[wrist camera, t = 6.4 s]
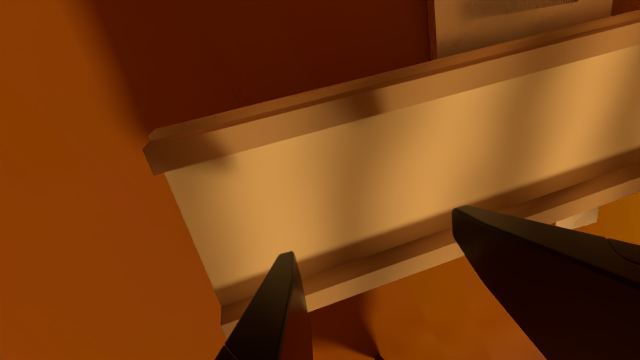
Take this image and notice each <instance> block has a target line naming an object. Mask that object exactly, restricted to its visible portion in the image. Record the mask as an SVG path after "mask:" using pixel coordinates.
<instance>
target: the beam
mask: <svg viewBox="0 0 640 360" xmlns="http://www.w3.org/2000/svg"><path fill="white" fill-rule="evenodd" d="M148 136H149V139H150V142H149V143H148V144H147V145H146V146H145V147H144V148H143V149H142V150H143V152H144V154H145V156H146V159H147V161H148V163H149V165H150V168H151V170H152V172H153V174H154V175H157V174H161V173H164V174H165V176H166V178H167V181H168V183H169V185H170V188H171V190H172V192H173V195H174V197H175V199H176V202H177V204H178V206H179V209H180V211H181V213H182V216H183V218H184V220H185V223H186V225H187V227H188V230H189V232H190V234H191V237H192V239H193V241H194V244H195V246H196V248H197V251H198V253H199V255H200V258H201V260H202V262H203V265H204V267H205V269H206V272H207V274H208V276H209V279H210V281H211V283H212V286H213V288H214V290H215V293H216V295H217V297H218V300H219V302H220V304H221V328H222V330H223V332H224V335H225V337H226V339H228V337H229V336H230V334H231V332H232V331H233V329H234V327H235V326H236V324H237V323H238V321H239V319H240V318H241V316H242V314H243V313H244V311H245V309H246V308H247V306H248V304H249V303H250V301H251V300H252V298H253V296H254V295H255V293H256V291H257V290H258V288H259V286H260V285H261V283H262V281H263V280H264V278H265V277H266V275H267V273H268V272H269V270H270V268H271V267H272V265H273V263H274V262H275V260H276V258H277V257H278V255H279V254H281V253H285V252H289V251H293V252H294V254H295V257H296V261H297V264H298V268H299V271H300V275H301V279H302V284H303V289H304V294H305V300H306V305H307V310H308V312H310V311H313V310H316V309H319V308H321V307H324V306H327V305H330V304H332V303H335V302H338V301H341V300H343V299H346V298H349V297H352V296H354V295H357V294H360V293H363V292H365V291H368V290H371V289H374V288H376V287H379V286H382V285H385V284H387V283H390V282H393V281H396V280H398V279H401V278H404V277H407V276H409V275H412V274H415V273H418V272H420V271H423V270H426V269H429V268H431V267H434V266H437V265H440V264H442V263H445V262H448V261H451V260H453V259H456V258H459V257H462V256H464V253H463V252H462V250H461V249H460V247H459V246H458V244H457V243H456V241H455V239H454V237H453V233H452V210H453V209H454V208H456V207H460V206H464V205H469V206H473V207H477V208H482V209H486V210H490V211H494V212H499V213H503V214H507V215H512V216H516V217H520V218H524V219H529V220H533V221H537V222H541V223H546V224H552V223H555V222H558V221H560V220H563V219H566V218H569V217H571V216H574V215H577V214H580V213H582V212H585V211H588V210H591V209H593V208H596V207H599V206H602V205H604V204H607V203H610V202H613V201H615V200H618V199H621V198H624V197H626V196H629V195H632V194H635V193H637V192H640V9H639V10H635V11H631V12H627V13H623V14H619V15H615V16H611V17H607V18H603V19H599V20H594V21H590V22H586V23H582V24H578V25H574V26H570V27H566V28H562V29H558V30H554V31H550V32H546V33H542V34H538V35H534V36H530V37H526V38H522V39H517V40H513V41H509V42H505V43H501V44H497V45H493V46H489V47H485V48H481V49H477V50H473V51H469V52H465V53H461V54H457V55H453V56H449V57H445V58H441V59H436V60H432V61H428V62H424V63H420V64H416V65H412V66H408V67H404V68H400V69H396V70H392V71H388V72H384V73H380V74H376V75H372V76H368V77H364V78H359V79H355V80H351V81H347V82H343V83H339V84H335V85H331V86H327V87H323V88H319V89H315V90H311V91H307V92H303V93H299V94H295V95H291V96H287V97H282V98H278V99H274V100H270V101H266V102H262V103H258V104H254V105H250V106H246V107H242V108H238V109H234V110H230V111H226V112H222V113H218V114H214V115H210V116H205V117H201V118H197V119H193V120H189V121H185V122H181V123H177V124H173V125H169V126H165V127H161V128H157V129H154V130H153V131H152V132H151V133H150V134H149V135H148Z"/></svg>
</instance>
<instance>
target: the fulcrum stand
mask: <svg viewBox="0 0 640 360" xmlns="http://www.w3.org/2000/svg"><path fill="white" fill-rule="evenodd" d="M612 3H613V0H427V12H428V28H429V43H430V59H431V61H432V60H436V59H441V58H445V57H449V56H453V55H457V54H461V53H465V52H469V51H473V50H477V49H481V48H485V47H489V46H493V45H497V44H501V43H505V42H509V41H513V40H517V39H522V38H526V37H530V36H534V35H538V34H542V33H546V32H550V31H554V30H558V29H562V28H566V27H570V26H574V25H578V24H582V23H586V22H590V21H594V20H599V19H603V18H607V17H611V11H612ZM598 209H599V207H596V208H593V209H591V210H588V211H585V212H582V213H580V214H577V215H574V216H571V217H569V218H566V219H563V220H560V221H558V222H555V223H552V224H550V225H554V226H558V227H563V228H567V229H574V228H578V227H581V226H585V225H588V224H592V223H596V222H597V215H598Z"/></svg>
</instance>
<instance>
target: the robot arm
mask: <svg viewBox="0 0 640 360" xmlns="http://www.w3.org/2000/svg"><path fill="white" fill-rule="evenodd" d="M452 233H453V237H454V239H455V241H456V243H457V244H458V246H459V247H460V249H461V250H462V252H463V253H464V255H465V256H466V258H467V259H468V261H469V262H470V264H471V265H472V267H473V268H474V270H475V271H476V273H477V274H478V276H479V277H480V279H481V280H482V281H483V283H484V284H485V285H486V287H487V288H488V289H489V290H490V292H491V293H492V294H493V295H494V296H495V298H496V299H497V300H498V301H499V302H500V304H501V305H502V306H503V307H504V308H505V310H506V311H507V312H508V313H509V314H510V316H511V317H512V318H513V319H514V320H515V322H516V323H517V324H518V325H519V326H520V328H521V329H522V330H523V331H524V333H525V334H526V335H527V336H528V337H529V339H530V340H531V341H532V342H533V343H534V345H535V346H536V347H537V348H538V349H539V351H540V352H541V353H542V354H543V355H544V357H545V358H546V359H547V360H640V245H636V244H631V243H627V242H623V241H619V240H614V239H610V238H609V239H606V238H605V237H601V236H597V235H593V234H588V233H584V232H580V231H576V230H571V229H567V228H563V227H558V226H554V225H550V224H546V223H541V222H537V221H533V220H529V219H524V218H520V217H516V216H512V215H507V214H503V213H499V212H494V211H490V210H486V209H482V208H477V207H473V206H469V205H464V206H460V207H456V208H454V209H453V210H452ZM215 360H313V350H312V336H311V327H310V321H309V315H308V310H307V305H306V300H305V294H304V289H303V284H302V279H301V275H300V271H299V268H298V264H297V261H296V257H295V254H294V252H293V251H289V252H285V253H281V254H279V255H278V257H277V258H276V260H275V262H274V263H273V265H272V267H271V268H270V270H269V272H268V273H267V275H266V277H265V278H264V280H263V281H262V283H261V285H260V286H259V288H258V290H257V291H256V293H255V295H254V296H253V298H252V300H251V301H250V303H249V304H248V306H247V308H246V309H245V311H244V313H243V314H242V316H241V318H240V319H239V321H238V323H237V324H236V326H235V327H234V329H233V331H232V332H231V334H230V336H229V337H228V339H227V341H226V342H225V345H224V346H223V347H222V349H221V350H220V352H219V354H218V355H217V357H216V358H215Z"/></svg>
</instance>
